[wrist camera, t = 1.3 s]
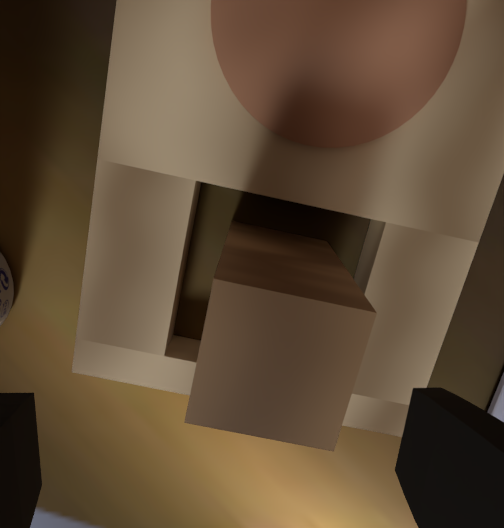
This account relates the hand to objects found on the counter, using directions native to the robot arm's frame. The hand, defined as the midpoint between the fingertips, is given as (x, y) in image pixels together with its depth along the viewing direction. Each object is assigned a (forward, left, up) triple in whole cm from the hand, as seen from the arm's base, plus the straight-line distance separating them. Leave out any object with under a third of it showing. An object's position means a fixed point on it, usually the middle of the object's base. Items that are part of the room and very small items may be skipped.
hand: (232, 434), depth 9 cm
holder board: (-1, -5, -11) cm, 12 cm away
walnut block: (-1, 0, -11) cm, 11 cm away
